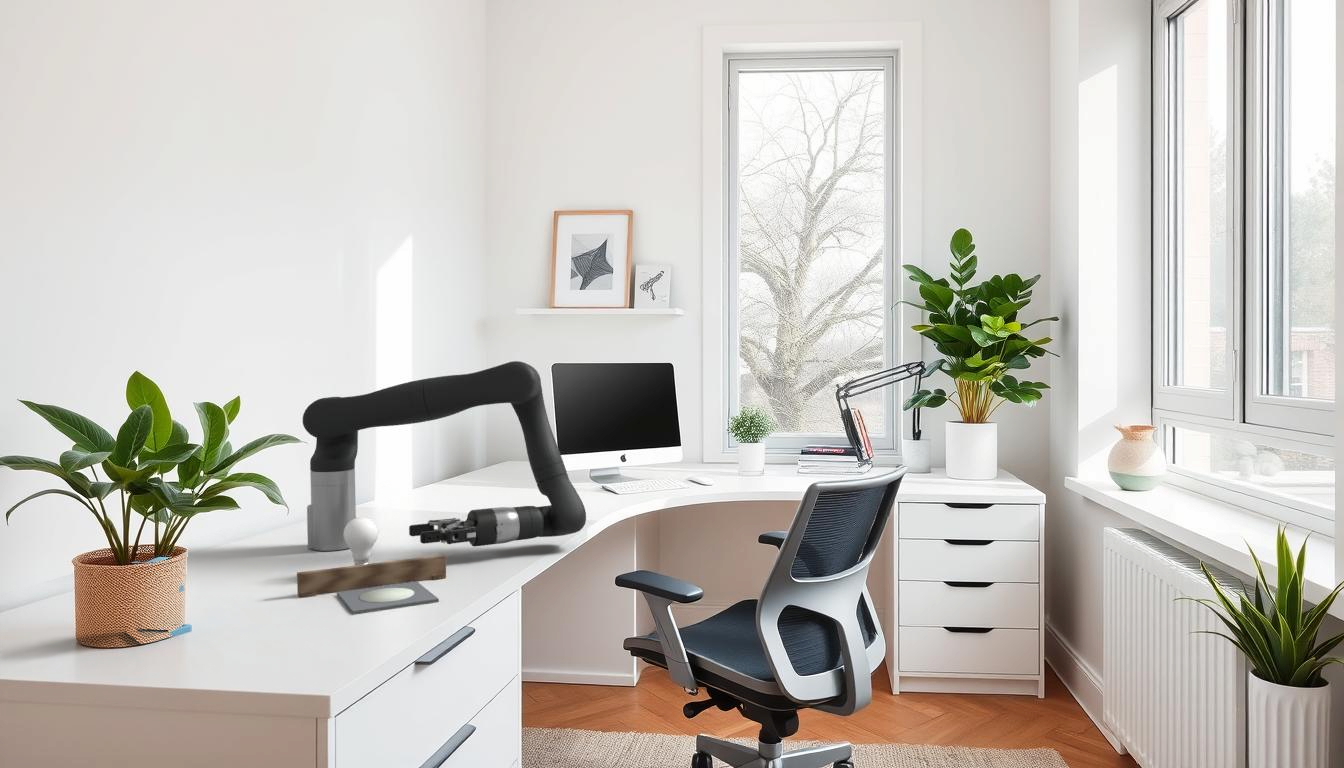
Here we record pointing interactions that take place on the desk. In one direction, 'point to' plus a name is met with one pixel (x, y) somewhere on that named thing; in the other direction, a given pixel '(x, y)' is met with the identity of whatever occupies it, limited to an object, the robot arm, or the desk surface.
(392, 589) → the mat
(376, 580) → the walnut fence
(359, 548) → the lightbulb
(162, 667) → the desk surface
